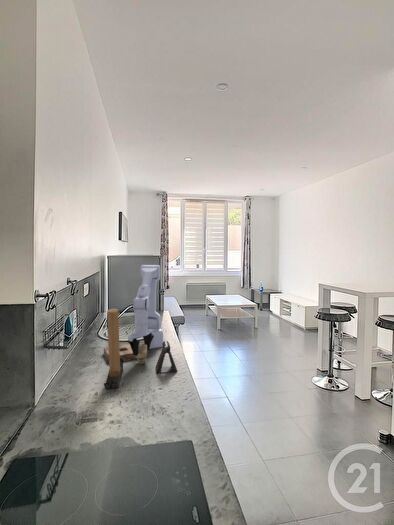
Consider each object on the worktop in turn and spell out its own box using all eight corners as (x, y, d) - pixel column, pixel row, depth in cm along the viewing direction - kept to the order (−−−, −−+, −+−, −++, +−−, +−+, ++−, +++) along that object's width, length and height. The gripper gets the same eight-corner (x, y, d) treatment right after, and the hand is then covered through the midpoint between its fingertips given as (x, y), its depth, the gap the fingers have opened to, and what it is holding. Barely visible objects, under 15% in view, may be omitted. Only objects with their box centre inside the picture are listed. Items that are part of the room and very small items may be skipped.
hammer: (118, 396, 112) (115, 321, 105) (104, 397, 111) (100, 322, 104) (124, 366, 131) (122, 301, 124) (112, 366, 130) (110, 301, 123)
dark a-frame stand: (175, 366, 134) (175, 340, 134) (177, 372, 129) (177, 344, 128) (155, 368, 133) (155, 341, 132) (156, 373, 127) (156, 345, 126)
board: (135, 348, 158) (135, 343, 158) (143, 357, 146) (143, 351, 145) (103, 353, 150) (103, 347, 150) (109, 363, 138) (109, 356, 138)
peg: (145, 359, 142) (144, 343, 142) (148, 363, 138) (148, 346, 137) (134, 361, 140) (134, 344, 140) (137, 365, 135) (137, 348, 135)
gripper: (145, 319, 146) (145, 346, 147) (123, 325, 134) (123, 355, 135) (156, 321, 142) (156, 349, 143) (134, 327, 130) (134, 358, 131)
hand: (141, 352), depth 139 cm, fingers open, 7 cm apart
